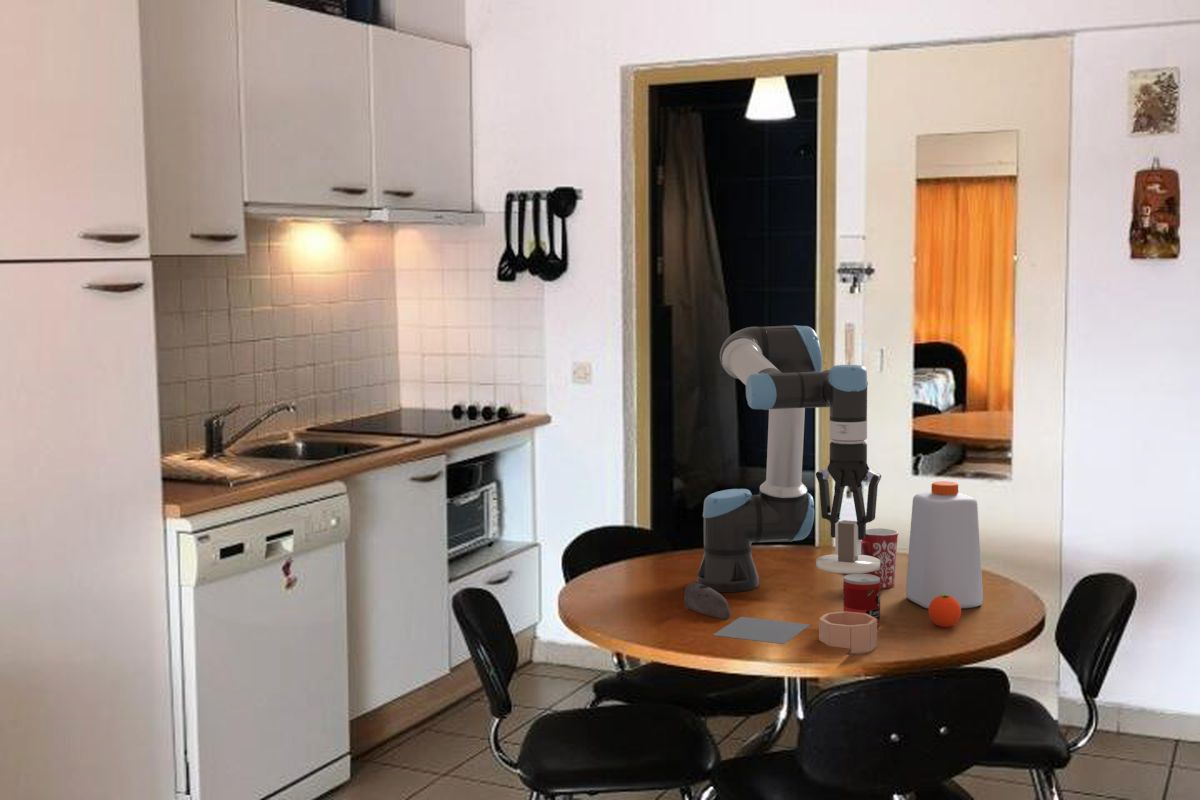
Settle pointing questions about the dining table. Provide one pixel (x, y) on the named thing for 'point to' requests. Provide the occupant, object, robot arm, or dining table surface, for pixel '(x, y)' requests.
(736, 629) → the plate
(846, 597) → the canned food
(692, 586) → the perforated stone tool
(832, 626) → the pink faceted pot
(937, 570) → the plastic bottle
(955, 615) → the clementine
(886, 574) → the mug
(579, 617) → the dining table surface
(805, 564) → the dining table surface
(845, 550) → the lid
